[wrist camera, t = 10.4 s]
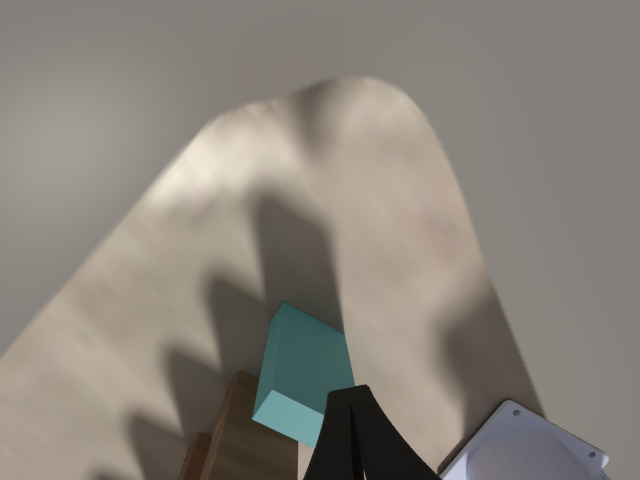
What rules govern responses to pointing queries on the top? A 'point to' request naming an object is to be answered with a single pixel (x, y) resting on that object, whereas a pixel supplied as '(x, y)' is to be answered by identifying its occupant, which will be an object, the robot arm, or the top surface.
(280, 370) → the teal rectangular block
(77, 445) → the top surface
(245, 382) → the domino
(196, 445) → the domino
